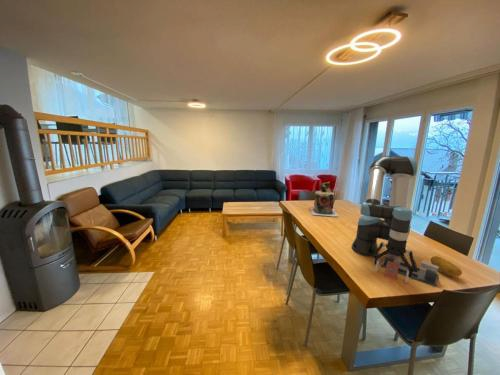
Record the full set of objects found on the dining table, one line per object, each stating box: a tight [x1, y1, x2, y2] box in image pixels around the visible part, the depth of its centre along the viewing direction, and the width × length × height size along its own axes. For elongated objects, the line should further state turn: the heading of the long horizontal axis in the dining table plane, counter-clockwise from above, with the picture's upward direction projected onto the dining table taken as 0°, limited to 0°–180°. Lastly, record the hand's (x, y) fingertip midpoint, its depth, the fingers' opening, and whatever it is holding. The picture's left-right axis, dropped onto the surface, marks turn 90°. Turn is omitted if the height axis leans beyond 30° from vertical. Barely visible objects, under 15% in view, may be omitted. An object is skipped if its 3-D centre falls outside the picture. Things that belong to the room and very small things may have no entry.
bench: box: [379, 253, 439, 288], centre depth 112 cm, size 24×12×8 cm, turn 46°
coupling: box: [384, 261, 399, 281], centre depth 108 cm, size 8×5×7 cm, turn 136°
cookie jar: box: [309, 181, 339, 218], centre depth 206 cm, size 25×25×32 cm
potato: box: [430, 255, 463, 277], centre depth 112 cm, size 7×14×7 cm, turn 3°
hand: (390, 275), depth 108 cm, fingers open, 12 cm apart
